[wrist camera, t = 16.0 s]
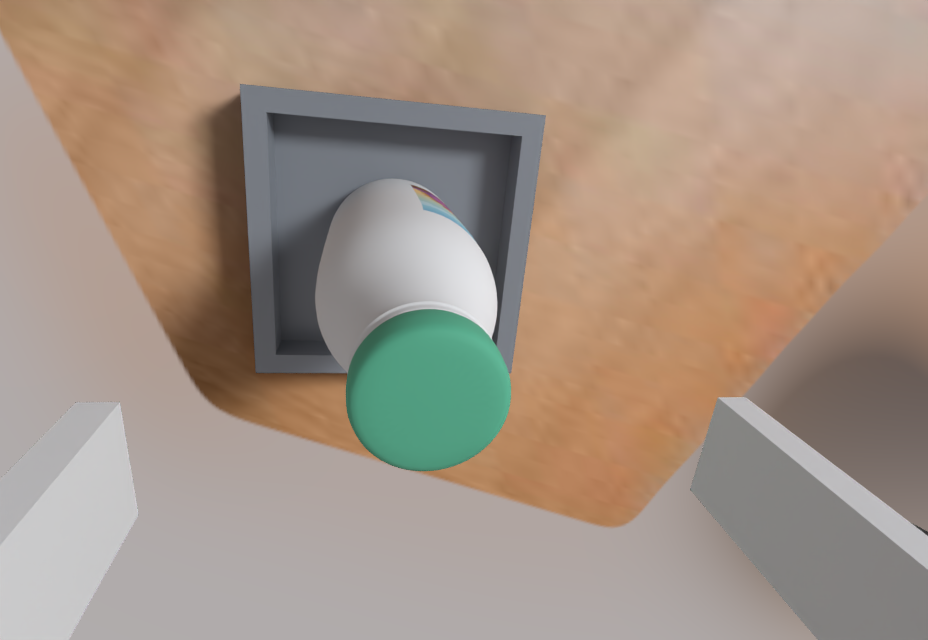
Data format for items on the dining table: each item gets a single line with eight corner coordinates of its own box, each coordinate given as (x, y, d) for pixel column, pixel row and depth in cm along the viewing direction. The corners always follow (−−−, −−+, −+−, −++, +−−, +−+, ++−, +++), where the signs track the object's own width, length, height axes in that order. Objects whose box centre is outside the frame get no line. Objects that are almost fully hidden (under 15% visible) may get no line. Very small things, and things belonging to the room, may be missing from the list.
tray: (251, 86, 29) (239, 84, 26) (529, 115, 32) (545, 115, 29) (264, 352, 34) (255, 372, 32) (500, 354, 37) (510, 373, 35)
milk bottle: (339, 306, 33) (310, 542, 15) (319, 182, 30) (253, 287, 12) (458, 292, 34) (567, 497, 16) (450, 171, 31) (572, 252, 13)
